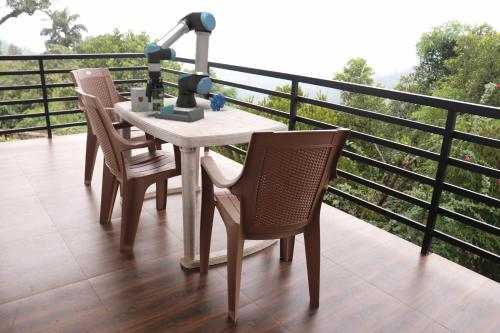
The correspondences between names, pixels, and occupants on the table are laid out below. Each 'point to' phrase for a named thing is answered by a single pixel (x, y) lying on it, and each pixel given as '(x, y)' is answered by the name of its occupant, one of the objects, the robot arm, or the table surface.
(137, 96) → the supplement box
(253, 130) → the table surface
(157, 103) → the coffee can
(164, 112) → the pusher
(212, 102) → the grapes
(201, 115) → the lane
